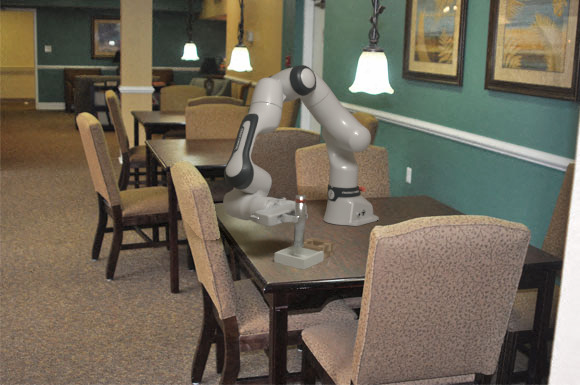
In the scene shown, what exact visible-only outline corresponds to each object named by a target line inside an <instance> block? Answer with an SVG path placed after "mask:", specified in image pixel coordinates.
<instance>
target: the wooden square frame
mask: <svg viewBox="0 0 580 385" xmlns="http://www.w3.org/2000/svg"><path fill="white" fill-rule="evenodd" d="M302 248H306V249H310V250H314V251H319V252H320V251H323V252H324V257H323V260H325V259H327V258H330V257H331V256H334V254H335V242H333V241H328V240H324V239H319V238H314V237H309V238H307V239H304V247H302Z"/></svg>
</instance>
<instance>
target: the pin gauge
mask: <svg viewBox="0 0 580 385" xmlns="http://www.w3.org/2000/svg"><path fill="white" fill-rule="evenodd" d="M294 201H295V216H299V222H297V223H294V225H293V227H294V228H293V229H294V230H293V245H294V247H304V240H305V230H306V220H305V210H306V206H307V204H306V203H307V195H306V194H296V195H295V200H294Z"/></svg>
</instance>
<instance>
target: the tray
mask: <svg viewBox="0 0 580 385" xmlns="http://www.w3.org/2000/svg"><path fill="white" fill-rule="evenodd" d="M323 257H324V252H323V251H320V252H319V251H314V250H310V249H306V248H302V247H294V244H293V245H291V246H287V247H286V248H283V249H280V250H278V251H276V252H274V260H273V261H274V263H276V264H280V265H283V266H288V267H292V268H296V269H299V270H303V271H304V270H306V269H308V268H311V267H313V266H315V265H317V264H320V263H323V262H324V259H323Z"/></svg>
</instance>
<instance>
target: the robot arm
mask: <svg viewBox="0 0 580 385" xmlns="http://www.w3.org/2000/svg"><path fill="white" fill-rule="evenodd" d="M298 99H300V100H301V102H302V103H303V105H304V106H305V107H306V109H307V110H308V112H309V114H311V116H312V117H313V118H314V120H315V121H316V122H317V123H318V124H319V125H321V126H322V130H321V136H322V139H323V141H324V143H325V146H326V151H327V157H328V163H329V174H328V175H329V178H328V181H329V182H328V184H327V192H326V194H327V202H326V208H325V212H324V216H323V219H322V220H323V221H324V222H325V223H328V224H332V225H337V226H351V227H352V226H353V227H359V226H362V225H366V224H369V223H373V222H374V223H375V222H377V220H378V221H379V220H380V217H379V216H378V215H376V214H374V208H373V205H372V203H371V202H370V201H369V200H367V199H366V198H365V197H364V196H363V195H362V194H361V192H362V193H365V192H366V190H367V188H366V187H365V186H363V185H360V186H359V185H358V183H359V182H358V181H359V164H358V162H357V160H356V157H355V153H358V152H359V153H361V152H364V151H365V150H366V149H368V148H369V146H370V144H371V140H372V134H371V132H370V131H369V129H368V128H367V127H366V126H364V125H363V124H362V123H361V122H360V121H359V120H358V119H357V118H356V117H355V116H354V115H353V114H352V113H351V112H350V111H349V110H348V109H347V108H345V106H344V105H343V104H342V103H341V102H340V100H339V99H338V98H337V96H336V95H335V94H334V92H333V91H332V89H331V88H330V86H329V85H328V84H327V83H326V82H325V80H324V79H322V77H321V76H320V75H319V74H318V73H317V72H315V71H314V70H313V69H312V68H310V67H309V66H307V65H302V64H300V65H295V66H293V67H289V68H285V69H283V70H281V71H279V72H277V73H275V74H273V75H272V74H271V75H270V76H268V77H263V78H261V79H259V80H258V81H257V82H256V85H255V87H254V89H253V91H252V96H251V99H250V105H249V110H248V112H247V114H246V115H245V116H244V117H243V119H242V120H241V123H240V126H239V128H238V131H237V135H236V138H235V141H234V145H233V148H232V151H231V155H230V157H229V159H228V161H227V162H226V165H225V167H224V170H223V171H224V172H223V175H224V176H223V177H224V181H225V182H226V184H227V185H228V186H229V187H231V188H233V189H231V190H230V191H228V192H226V193H225V194H224V197H223V200H222V202H223V203H222V205H223V209H224V211H225V212H226V214H228V215H229V216H230V217H233V218H236V219H239V220H242V221H251V222H253V223H255V224H258V225H261V226H265V227H275V226H277V225H281V224H284V223H294V224H295V223H297V222H299V216H295V200H290V199H287V198H286V197H282V196H278V197H272V196H269V193H270V191H271V188H272V185H273V179H272V176H271V174H270V173H269V172H267V170H265V169H263V168H262V167H260V166H258V165H257V164H255V163H254V161H253V160H252V152H253V149H254V145H255V142H256V138H257V136H258V135H267V134H268V135H269V134H272V133H273V132H274V131H276V130H277V129H278V128H279V126H280V123H281V120H282V114H283V108H284V104H285V103H290V102H292V101H295V100H298ZM307 207H308V206H307V205H306V210H305V221H306V220H308V218H309V217H308V216H309V215H308V213H307V212H308V211H307Z"/></svg>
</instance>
